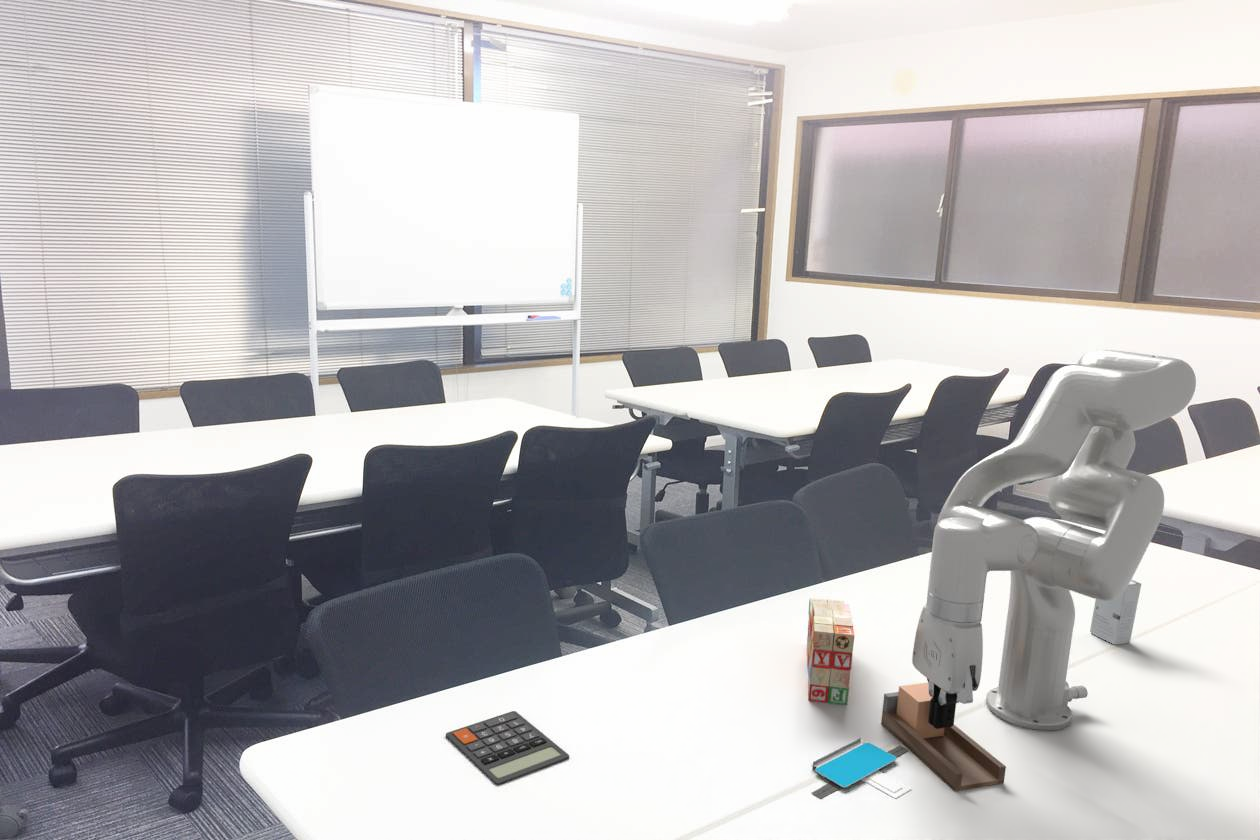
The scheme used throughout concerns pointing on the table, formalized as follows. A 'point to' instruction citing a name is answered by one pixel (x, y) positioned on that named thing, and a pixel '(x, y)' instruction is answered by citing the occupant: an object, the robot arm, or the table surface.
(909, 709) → the block
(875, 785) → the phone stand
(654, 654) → the table surface
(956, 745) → the chute
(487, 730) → the calculator
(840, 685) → the stack of blocks
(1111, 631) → the skincare box
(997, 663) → the table surface
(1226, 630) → the table surface
